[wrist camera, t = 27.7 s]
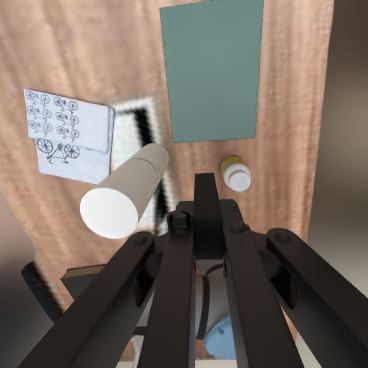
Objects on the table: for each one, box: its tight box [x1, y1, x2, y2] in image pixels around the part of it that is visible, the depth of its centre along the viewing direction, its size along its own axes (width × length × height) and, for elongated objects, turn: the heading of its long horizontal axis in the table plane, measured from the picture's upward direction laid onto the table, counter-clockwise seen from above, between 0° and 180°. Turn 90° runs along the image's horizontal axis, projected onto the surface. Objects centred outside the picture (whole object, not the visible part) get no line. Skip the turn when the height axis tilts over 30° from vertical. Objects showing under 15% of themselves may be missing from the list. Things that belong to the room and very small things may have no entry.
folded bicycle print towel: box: [24, 89, 114, 186], centre depth 45 cm, size 19×20×2 cm
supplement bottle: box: [221, 156, 251, 192], centre depth 42 cm, size 5×5×10 cm
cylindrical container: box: [80, 143, 169, 239], centre depth 35 cm, size 7×7×25 cm
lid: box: [160, 0, 264, 143], centre depth 33 cm, size 15×20×1 cm
